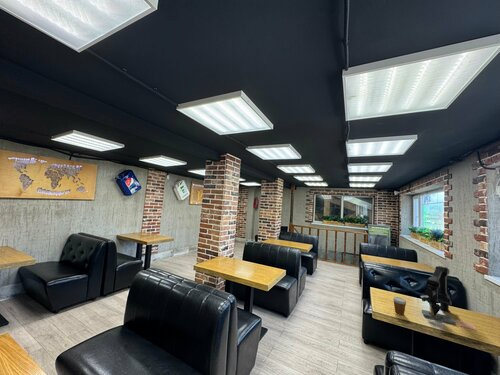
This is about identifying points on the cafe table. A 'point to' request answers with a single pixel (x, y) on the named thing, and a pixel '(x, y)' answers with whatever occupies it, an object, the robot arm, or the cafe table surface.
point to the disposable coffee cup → (399, 305)
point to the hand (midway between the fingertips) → (433, 312)
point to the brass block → (432, 311)
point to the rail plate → (439, 317)
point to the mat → (465, 325)
